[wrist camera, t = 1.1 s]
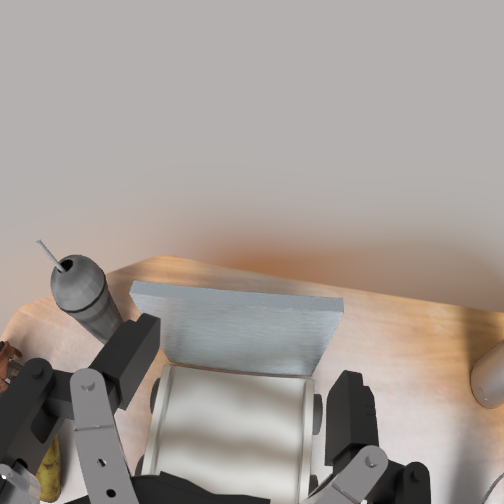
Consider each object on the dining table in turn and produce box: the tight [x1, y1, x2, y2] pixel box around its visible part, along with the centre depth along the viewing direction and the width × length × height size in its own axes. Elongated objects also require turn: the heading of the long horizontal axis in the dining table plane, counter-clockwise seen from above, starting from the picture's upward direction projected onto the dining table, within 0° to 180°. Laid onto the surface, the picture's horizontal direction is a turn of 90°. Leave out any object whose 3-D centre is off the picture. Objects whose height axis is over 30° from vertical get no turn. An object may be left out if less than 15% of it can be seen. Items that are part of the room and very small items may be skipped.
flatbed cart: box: [135, 365, 323, 504], centre depth 27 cm, size 18×19×7 cm
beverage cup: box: [37, 240, 124, 345], centre depth 32 cm, size 7×7×20 cm
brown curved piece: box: [0, 341, 23, 398], centre depth 31 cm, size 12×10×8 cm
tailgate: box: [129, 280, 344, 376], centre depth 27 cm, size 2×16×14 cm, turn 84°
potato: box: [35, 432, 61, 503], centre depth 23 cm, size 8×13×8 cm, turn 165°
